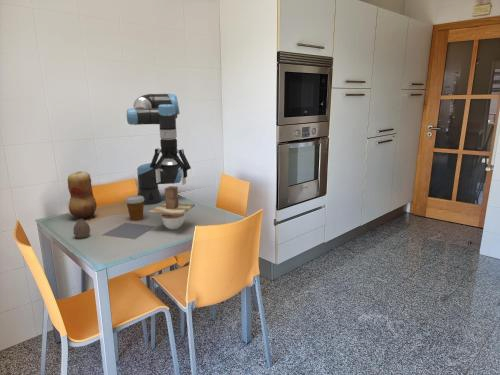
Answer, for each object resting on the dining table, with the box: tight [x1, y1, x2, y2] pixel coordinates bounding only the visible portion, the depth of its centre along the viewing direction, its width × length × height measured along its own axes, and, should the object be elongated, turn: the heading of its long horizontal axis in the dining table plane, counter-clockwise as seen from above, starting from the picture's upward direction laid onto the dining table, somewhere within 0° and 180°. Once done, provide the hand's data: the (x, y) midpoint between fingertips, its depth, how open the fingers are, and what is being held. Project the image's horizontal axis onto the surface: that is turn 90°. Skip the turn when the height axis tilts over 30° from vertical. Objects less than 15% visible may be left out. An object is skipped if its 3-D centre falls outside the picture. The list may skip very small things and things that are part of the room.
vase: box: [72, 218, 91, 240], centre depth 164 cm, size 7×7×9 cm
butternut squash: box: [67, 170, 98, 219], centre depth 190 cm, size 14×13×25 cm
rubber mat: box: [102, 222, 157, 240], centre depth 172 cm, size 18×18×1 cm
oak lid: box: [148, 185, 196, 216], centre depth 173 cm, size 16×16×11 cm
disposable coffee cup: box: [125, 194, 145, 222], centre depth 188 cm, size 10×10×12 cm
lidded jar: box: [161, 213, 185, 230], centre depth 175 cm, size 11×11×9 cm
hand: (171, 183), depth 171 cm, fingers open, 13 cm apart
